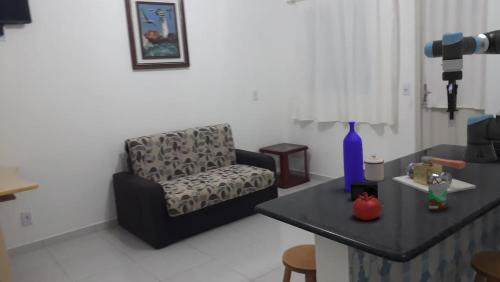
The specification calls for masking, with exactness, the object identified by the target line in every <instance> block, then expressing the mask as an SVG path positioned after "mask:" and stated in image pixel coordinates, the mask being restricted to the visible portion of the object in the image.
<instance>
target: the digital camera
mask: <svg viewBox="0 0 500 282" xmlns="http://www.w3.org/2000/svg"><path fill="white" fill-rule="evenodd" d="M364 192H366V193H367V197H370V196H372V197H374V198H376V199H378V200H379V181H364V182H351V192H350V201H351V202H355V200H356V199H358V198H359V197H360V196H359V195H361V196H363V197H364V194H363V193H364Z"/></svg>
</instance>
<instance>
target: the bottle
mask: <svg viewBox="0 0 500 282" xmlns="http://www.w3.org/2000/svg"><path fill="white" fill-rule="evenodd" d="M347 123H348V125H349V126H348V127H349V131H348V132H347V134H345V136H344V137H343V139H342V140H343V141H342V157H343V158H342V159H343V160H342V163H343V180H344V189H345V190H346V192H349V193H351V182H365V173H364V170H365V168H364V164H363V162H364V152H363V151H364V149H363V140H362V138H361V136H360V135H359V134H358V133H357V132H356V131H355V123H356V121H353V120H352V121H348V122H347Z"/></svg>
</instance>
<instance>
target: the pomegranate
mask: <svg viewBox="0 0 500 282" xmlns="http://www.w3.org/2000/svg"><path fill="white" fill-rule="evenodd" d="M363 194H364V197H363V196H361V195H359V196H360V197H359V198H358V199H356V200H355V201H353V204H352V209H351V210H352V213H353V215H354V216H355V218H356V219H359V220H362V221H370V220H374V219H376V218H378V217H380V215H381V213H382V211H383V210H382V209H383V207H382V204H381V202H380V201H379V198H378V199H376V198H374V197H372V196H370V197H367V193H366V192H364V193H363Z"/></svg>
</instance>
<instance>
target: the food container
mask: <svg viewBox="0 0 500 282" xmlns="http://www.w3.org/2000/svg"><path fill="white" fill-rule="evenodd" d="M449 187H450V185H449V182H448V180H447V179H446V178H443V177H438V176H433V180H432V181H431V184H429V186H428V190H429V193H428V211H441V210H445V209H446V208H447V200H448V198H447V197H448V193H447V188H449Z"/></svg>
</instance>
